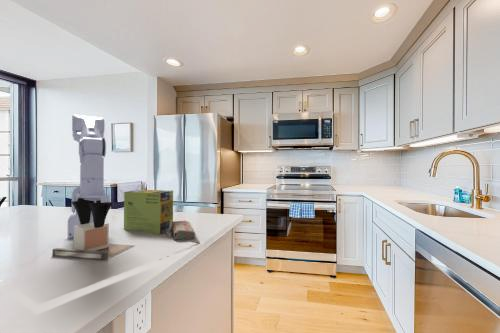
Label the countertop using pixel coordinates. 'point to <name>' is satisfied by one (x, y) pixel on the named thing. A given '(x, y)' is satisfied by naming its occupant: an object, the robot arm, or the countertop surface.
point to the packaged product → (182, 232)
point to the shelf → (92, 252)
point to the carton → (91, 237)
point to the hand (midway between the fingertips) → (91, 225)
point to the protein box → (148, 210)
